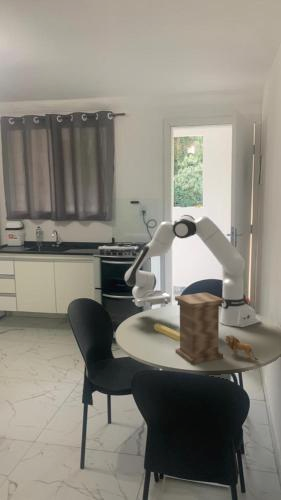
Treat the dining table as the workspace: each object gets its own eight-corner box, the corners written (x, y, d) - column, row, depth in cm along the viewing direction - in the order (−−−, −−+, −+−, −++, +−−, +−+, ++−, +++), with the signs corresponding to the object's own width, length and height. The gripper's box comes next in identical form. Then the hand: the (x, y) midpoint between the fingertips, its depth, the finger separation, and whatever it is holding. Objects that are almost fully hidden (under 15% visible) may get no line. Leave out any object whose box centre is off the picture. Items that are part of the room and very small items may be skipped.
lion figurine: (222, 355, 172) (222, 336, 171) (227, 351, 177) (227, 332, 176) (255, 363, 164) (256, 342, 163) (259, 358, 168) (260, 338, 167)
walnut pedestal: (205, 346, 183) (205, 292, 180) (223, 357, 170) (223, 299, 167) (175, 352, 177) (174, 296, 173) (191, 364, 164) (191, 304, 161)
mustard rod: (158, 328, 209) (158, 323, 209) (188, 342, 190) (188, 336, 189) (154, 330, 208) (154, 324, 207) (183, 343, 188) (183, 337, 188)
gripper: (131, 294, 216) (140, 300, 204) (164, 290, 224) (175, 295, 212) (131, 305, 217) (141, 312, 205) (164, 301, 225) (175, 307, 213)
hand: (158, 303), depth 208 cm, fingers open, 8 cm apart
